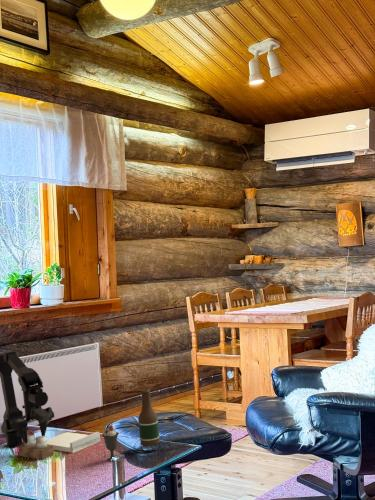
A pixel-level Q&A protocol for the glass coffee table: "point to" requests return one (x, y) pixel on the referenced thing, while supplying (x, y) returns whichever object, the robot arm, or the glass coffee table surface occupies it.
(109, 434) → the sundae
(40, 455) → the glass caddy
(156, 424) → the beer bottle
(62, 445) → the cream flat block
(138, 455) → the glass coffee table surface
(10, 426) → the robot arm
